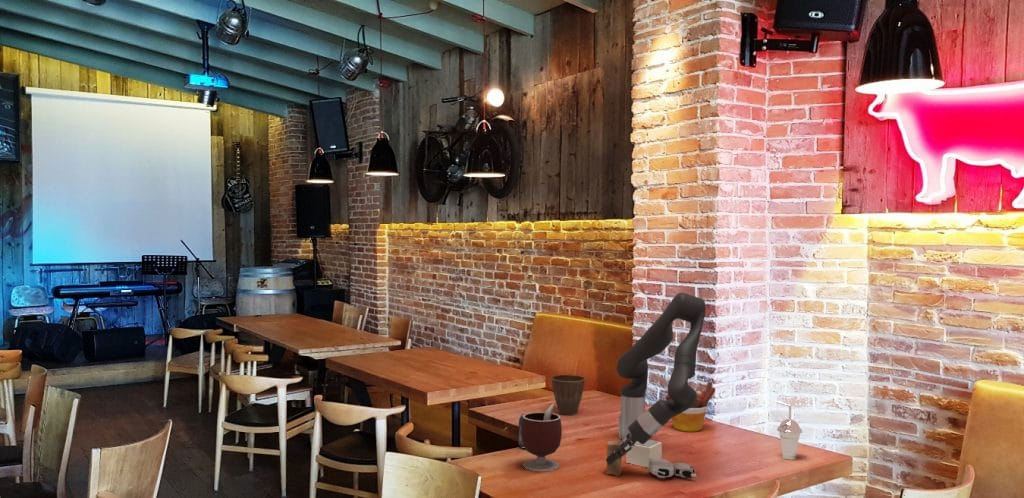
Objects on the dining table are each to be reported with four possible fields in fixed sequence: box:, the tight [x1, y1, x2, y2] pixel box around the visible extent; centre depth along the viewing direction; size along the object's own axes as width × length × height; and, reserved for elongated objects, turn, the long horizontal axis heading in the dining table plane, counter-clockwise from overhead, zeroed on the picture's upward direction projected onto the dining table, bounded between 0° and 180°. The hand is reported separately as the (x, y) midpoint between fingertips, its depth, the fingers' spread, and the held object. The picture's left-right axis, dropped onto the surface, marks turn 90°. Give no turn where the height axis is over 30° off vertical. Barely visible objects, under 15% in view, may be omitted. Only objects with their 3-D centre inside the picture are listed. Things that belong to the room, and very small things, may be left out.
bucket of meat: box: [664, 381, 716, 433], centre depth 305 cm, size 20×16×20 cm
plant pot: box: [551, 374, 586, 416], centre depth 329 cm, size 15×15×16 cm
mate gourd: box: [521, 403, 563, 472], centre depth 252 cm, size 16×14×20 cm
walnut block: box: [606, 440, 623, 476], centre depth 246 cm, size 4×4×10 cm
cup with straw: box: [774, 400, 803, 460], centre depth 266 cm, size 8×9×20 cm
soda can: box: [518, 413, 525, 449], centre depth 275 cm, size 7×7×12 cm
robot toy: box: [647, 458, 697, 479], centre depth 244 cm, size 12×4×15 cm
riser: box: [625, 439, 663, 469], centre depth 257 cm, size 9×9×7 cm
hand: (608, 460), depth 246 cm, fingers closed on walnut block, 4 cm apart
